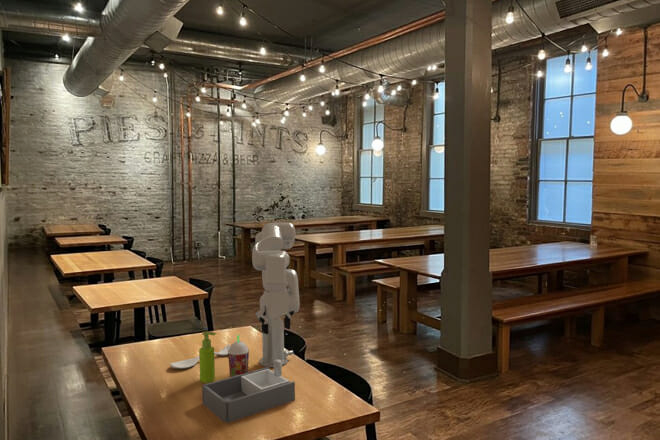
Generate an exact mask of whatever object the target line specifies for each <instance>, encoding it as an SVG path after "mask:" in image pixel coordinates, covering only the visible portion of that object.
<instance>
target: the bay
mask: <svg viewBox="0 0 660 440" xmlns="http://www.w3.org/2000/svg"><path fill="white" fill-rule="evenodd" d="M266 369H270V367H264V368H259V369H256V370H252V371H248V373H244V374H241V375H237V376H233V377H230V376H229V377H227V378H224V379H220V380H216V381H215V380H214V381H213V382H210V383H203V384H201V394H202V395H201V402H202V405H204V407H206V408H207V409H208V410H209V411H211V412H212V413H213V414H214V415H215V416H217V417H218V418H219V419H220V420H221V421H223V422H224V423H225V424H228V423H229V424H230V423H233V422H235V421H238V420H241V419H243V418H247V417H249V416H253V415H255V414H256V415H257V414H258V413H262V412H264V411H267V410H271V409H273V408H276V407H279V406H283V405H285V404H288V403H291V402H294V401H296V382H295V380H294V381H293V380H292V381H289V383H286V384H283V385H279V386H276V387H273V388H270V389H266V390H263V391H260V392H257V393H253V394H250V395H246V394H245V393H244V392H242V390H241V376H244V375H248V374H252V373H255V372H259V371H262V370H266Z"/></svg>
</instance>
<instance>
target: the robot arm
mask: <svg viewBox="0 0 660 440" xmlns="http://www.w3.org/2000/svg"><path fill="white" fill-rule="evenodd" d="M296 236H297V235H296V228H295V226H294V224H292V223H291V222H280V221H279V222H269V223H266V224H265V225H264V226H262V228H261V231H260V232H257V234H256V235H255V238H254V239H255V244H254V246H253V248H252V252H251V253H252V254H251V258H252V259H251V260H252V266H253V268H254V269H255V270H256V271H261V276H262V277H261V279H262V282H261V283H262V287H263V289H264V290H263V294H262V295H261V296H260V297H259V308H260V309H258V311H257V312H255V316H256V318H257V320H258V321H259V322H260V323H261V332H262V333H261V337H262V338H261V341H262V357H261V358H259V360H258V361H259V362H258V364H259V365H260V366H262V367H264V368H266V367H269V368H274V360H281V365H282V366H285V365H287V363H288V361H289V359H288V358H287V357H288V356H291V355H294V350H287V349H285V334H284V333H285V331H284V329H286V330H290V329H291V319H292V317H293V315H294V314H295V313H298V312H299V310H300V306H301V305H300V292H299V289H300V288H299V278H298V274H297V273H298V272H297V271H296V270H294V269H291V268H288V266H289V264H290V255H289V254H288V252H286V251H285V250H288V249H291V248H293V247H294V244H295V240H296ZM283 316H284V318H283V320H282V318H281V317H283Z"/></svg>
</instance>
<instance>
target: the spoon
mask: <svg viewBox="0 0 660 440" xmlns="http://www.w3.org/2000/svg"><path fill="white" fill-rule="evenodd" d="M230 346H231V345H230V344H226V345H225V346H224V347H223V348H222V349H220V350H219V351H218V352H216V351H214V355H216V356H217V355H218V356H221V357H224V356H228V350H229V348H230ZM198 361H200V358H199V356H196V357H192V358H189V359H183V360H179V361H174V362H171V363H170V367H171V368H173V369H180V370H181V369H182V370H184V369H188V368H190V367H191V368H192V367H193V366H195V365H196V364H197V363H198Z"/></svg>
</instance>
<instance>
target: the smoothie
mask: <svg viewBox="0 0 660 440" xmlns="http://www.w3.org/2000/svg"><path fill="white" fill-rule="evenodd" d="M236 337H237V341H234V342H233V343H232V344H231V345H230V348H229V350H228V355H227V357H228V358H227V359H228V366H229V367H228V369H229V370H228V371H229V378H230V377H233V376H237V375H241V374H244V373H248V372H249V361H250V360H249V358H250V357H249V356H250V349H249V348H248V345H247V344H246V343H245V342H243V341H240V334H237V335H236Z"/></svg>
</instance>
